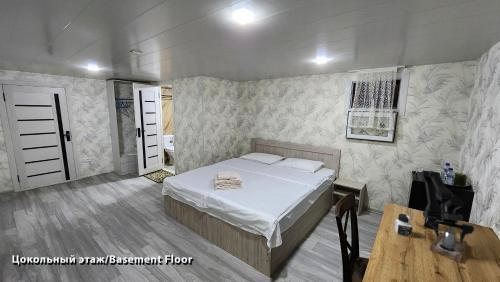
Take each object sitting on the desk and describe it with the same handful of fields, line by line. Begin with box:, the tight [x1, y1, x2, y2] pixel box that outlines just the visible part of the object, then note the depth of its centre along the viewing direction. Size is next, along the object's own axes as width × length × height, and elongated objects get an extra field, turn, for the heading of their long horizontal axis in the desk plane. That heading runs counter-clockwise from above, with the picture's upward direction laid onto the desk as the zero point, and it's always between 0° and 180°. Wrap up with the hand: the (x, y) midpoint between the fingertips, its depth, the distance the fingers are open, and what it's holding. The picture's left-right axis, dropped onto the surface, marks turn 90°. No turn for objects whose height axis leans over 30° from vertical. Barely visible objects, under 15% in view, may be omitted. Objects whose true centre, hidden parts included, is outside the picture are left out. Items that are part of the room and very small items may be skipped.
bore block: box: [429, 231, 469, 264], centre depth 118 cm, size 12×22×2 cm, turn 127°
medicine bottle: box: [394, 213, 413, 238], centre depth 131 cm, size 7×7×12 cm
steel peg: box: [442, 229, 457, 252], centre depth 113 cm, size 4×4×12 cm
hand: (449, 239), depth 112 cm, fingers open, 9 cm apart
